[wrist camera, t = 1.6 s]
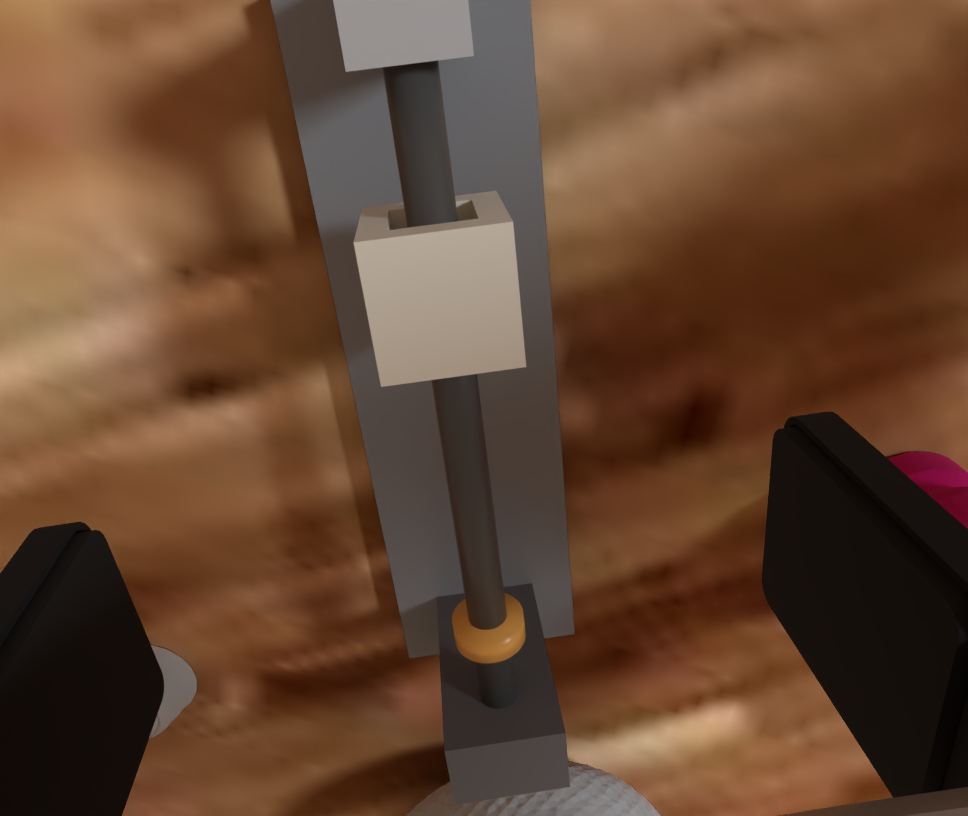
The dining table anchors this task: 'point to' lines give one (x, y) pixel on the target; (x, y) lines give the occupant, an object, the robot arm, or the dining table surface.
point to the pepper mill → (938, 480)
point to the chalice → (173, 688)
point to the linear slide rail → (456, 400)
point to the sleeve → (441, 291)
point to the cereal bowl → (549, 799)
